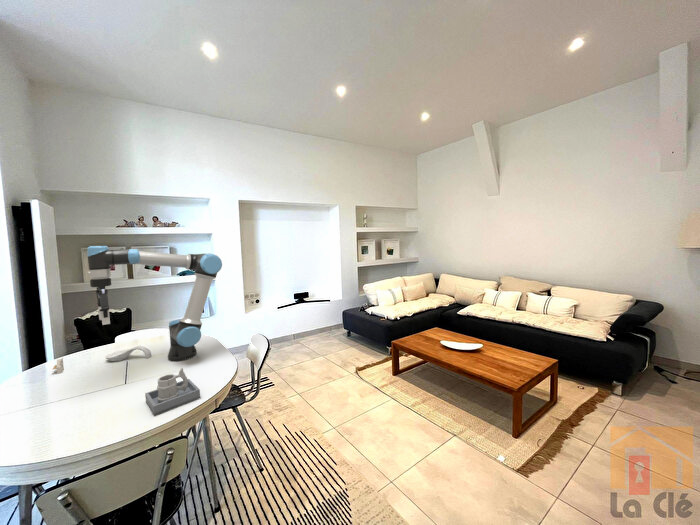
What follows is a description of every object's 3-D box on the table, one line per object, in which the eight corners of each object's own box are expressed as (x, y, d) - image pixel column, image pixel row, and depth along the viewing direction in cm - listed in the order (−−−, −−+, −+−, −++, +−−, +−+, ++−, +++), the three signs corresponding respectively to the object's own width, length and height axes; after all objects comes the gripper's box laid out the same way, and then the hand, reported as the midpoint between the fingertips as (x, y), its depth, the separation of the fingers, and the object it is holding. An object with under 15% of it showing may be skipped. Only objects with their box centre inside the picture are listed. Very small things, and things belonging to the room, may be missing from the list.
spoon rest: (100, 364, 163) (99, 352, 162) (115, 356, 175) (114, 345, 174) (144, 361, 165) (143, 349, 165) (155, 353, 177) (154, 342, 177)
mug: (155, 400, 120) (153, 373, 119) (185, 389, 129) (184, 364, 128) (160, 407, 115) (157, 378, 114) (191, 395, 124) (189, 368, 123)
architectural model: (53, 376, 150) (51, 362, 150) (55, 371, 156) (54, 358, 155) (62, 374, 152) (60, 360, 152) (64, 369, 158) (63, 356, 157)
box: (189, 386, 133) (188, 378, 133) (200, 398, 123) (199, 389, 122) (145, 402, 121) (145, 393, 121) (154, 416, 110) (153, 406, 110)
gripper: (87, 277, 139) (91, 319, 141) (92, 281, 122) (96, 328, 124) (107, 275, 145) (111, 316, 146) (114, 279, 128) (118, 324, 129)
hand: (104, 321), depth 135 cm, fingers open, 13 cm apart
